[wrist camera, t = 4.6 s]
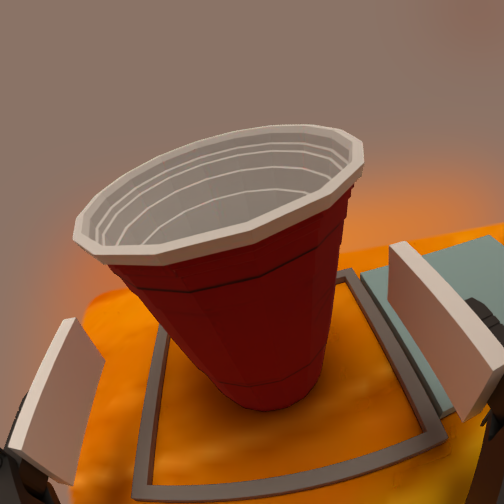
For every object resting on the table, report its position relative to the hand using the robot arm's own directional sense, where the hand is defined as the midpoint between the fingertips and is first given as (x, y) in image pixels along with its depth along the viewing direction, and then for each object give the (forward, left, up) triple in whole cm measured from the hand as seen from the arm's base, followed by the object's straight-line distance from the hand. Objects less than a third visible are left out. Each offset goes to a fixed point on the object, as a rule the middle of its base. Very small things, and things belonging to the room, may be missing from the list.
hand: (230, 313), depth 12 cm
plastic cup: (-1, -2, -7) cm, 7 cm away
